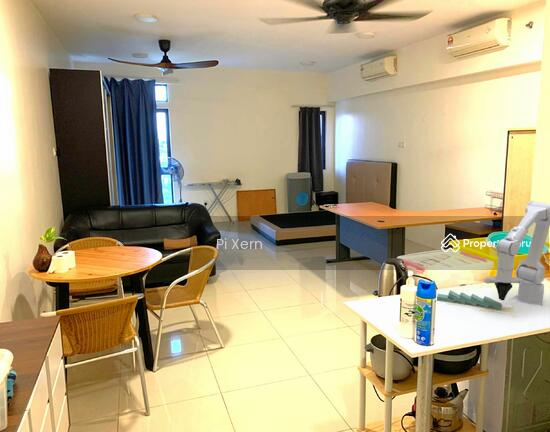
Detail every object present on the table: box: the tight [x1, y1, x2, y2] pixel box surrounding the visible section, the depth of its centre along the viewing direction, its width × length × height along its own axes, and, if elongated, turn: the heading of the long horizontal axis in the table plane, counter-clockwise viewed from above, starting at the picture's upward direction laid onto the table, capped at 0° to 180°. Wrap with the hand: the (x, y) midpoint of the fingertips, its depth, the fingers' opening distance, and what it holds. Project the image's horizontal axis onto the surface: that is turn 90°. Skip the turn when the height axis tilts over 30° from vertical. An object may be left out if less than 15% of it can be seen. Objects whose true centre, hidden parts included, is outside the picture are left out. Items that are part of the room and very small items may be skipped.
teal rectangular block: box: [459, 291, 477, 306], centre depth 180 cm, size 2×4×7 cm
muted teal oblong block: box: [447, 289, 466, 304], centre depth 182 cm, size 2×4×7 cm
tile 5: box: [436, 293, 454, 303], centre depth 184 cm, size 2×4×7 cm
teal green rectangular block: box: [482, 295, 503, 310], centre depth 176 cm, size 2×4×7 cm
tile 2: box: [470, 293, 489, 308], centre depth 178 cm, size 2×4×7 cm
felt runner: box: [445, 300, 516, 316], centre depth 178 cm, size 26×9×1 cm, turn 65°
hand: (501, 299), depth 174 cm, fingers closed
